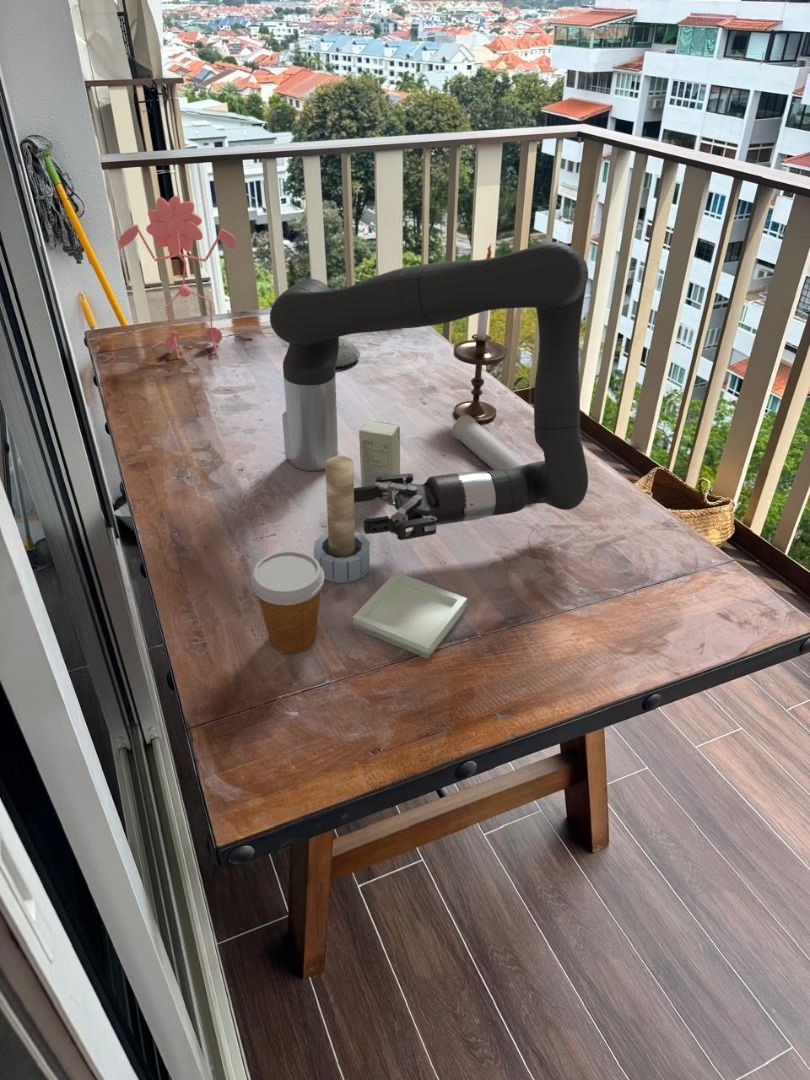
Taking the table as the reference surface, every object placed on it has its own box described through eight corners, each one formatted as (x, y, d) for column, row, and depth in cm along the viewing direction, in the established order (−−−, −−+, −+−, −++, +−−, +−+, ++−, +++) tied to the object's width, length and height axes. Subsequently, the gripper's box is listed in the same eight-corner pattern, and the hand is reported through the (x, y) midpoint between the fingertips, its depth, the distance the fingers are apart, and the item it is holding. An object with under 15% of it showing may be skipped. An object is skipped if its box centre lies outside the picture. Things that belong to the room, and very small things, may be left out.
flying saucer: (326, 343, 193) (325, 322, 189) (372, 358, 186) (372, 336, 182) (285, 361, 183) (284, 339, 179) (333, 377, 176) (332, 355, 172)
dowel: (324, 565, 117) (319, 465, 106) (338, 552, 120) (335, 453, 109) (346, 574, 115) (343, 473, 105) (360, 560, 118) (358, 460, 108)
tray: (352, 627, 107) (352, 617, 105) (395, 581, 115) (395, 571, 114) (427, 658, 102) (428, 648, 101) (466, 608, 110) (467, 598, 109)
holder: (304, 571, 116) (303, 551, 114) (335, 544, 122) (334, 524, 120) (350, 590, 113) (349, 569, 111) (379, 560, 119) (379, 540, 117)
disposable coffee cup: (260, 616, 108) (252, 549, 101) (327, 613, 109) (324, 547, 102) (255, 664, 100) (246, 595, 93) (327, 661, 101) (324, 592, 94)
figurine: (251, 350, 187) (234, 198, 167) (144, 365, 178) (113, 206, 158) (237, 330, 198) (220, 186, 178) (135, 343, 190) (105, 193, 170)
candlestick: (463, 398, 168) (476, 234, 147) (508, 410, 163) (527, 242, 143) (440, 417, 160) (450, 246, 139) (486, 430, 156) (503, 256, 135)
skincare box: (400, 484, 138) (402, 424, 131) (392, 496, 134) (393, 436, 127) (368, 478, 139) (367, 418, 132) (359, 489, 136) (358, 429, 129)
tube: (552, 475, 134) (478, 416, 152) (530, 473, 132) (457, 413, 149) (540, 501, 137) (469, 440, 154) (518, 500, 134) (448, 437, 151)
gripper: (447, 453, 120) (347, 465, 116) (477, 501, 109) (368, 516, 105) (444, 493, 124) (347, 506, 120) (473, 543, 113) (368, 559, 109)
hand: (357, 510), depth 113 cm, fingers open, 8 cm apart
